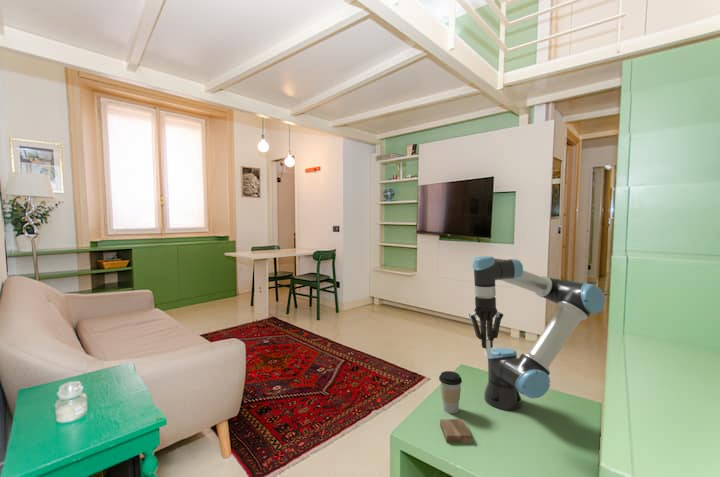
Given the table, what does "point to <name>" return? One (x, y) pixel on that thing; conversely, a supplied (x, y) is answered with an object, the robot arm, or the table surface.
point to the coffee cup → (450, 390)
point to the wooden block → (455, 431)
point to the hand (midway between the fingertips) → (487, 355)
